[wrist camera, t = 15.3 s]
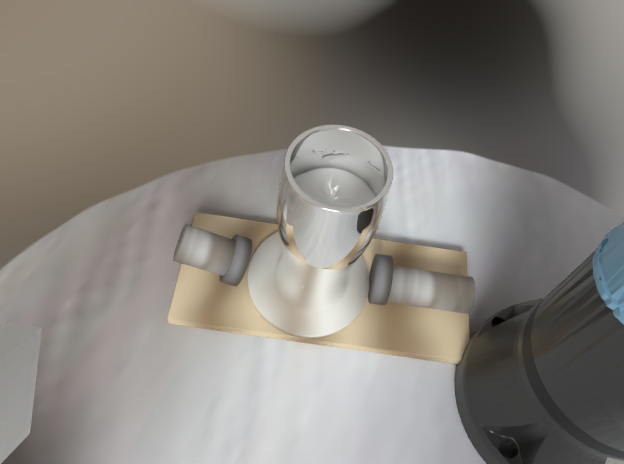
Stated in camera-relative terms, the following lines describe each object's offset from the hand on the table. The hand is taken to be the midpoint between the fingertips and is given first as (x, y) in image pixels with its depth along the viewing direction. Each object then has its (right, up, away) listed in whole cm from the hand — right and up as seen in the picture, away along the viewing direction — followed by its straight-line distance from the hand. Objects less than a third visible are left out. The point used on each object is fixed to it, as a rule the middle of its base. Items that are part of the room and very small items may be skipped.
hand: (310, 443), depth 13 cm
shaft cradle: (+1, 0, +35) cm, 35 cm away
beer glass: (0, +1, +34) cm, 34 cm away
